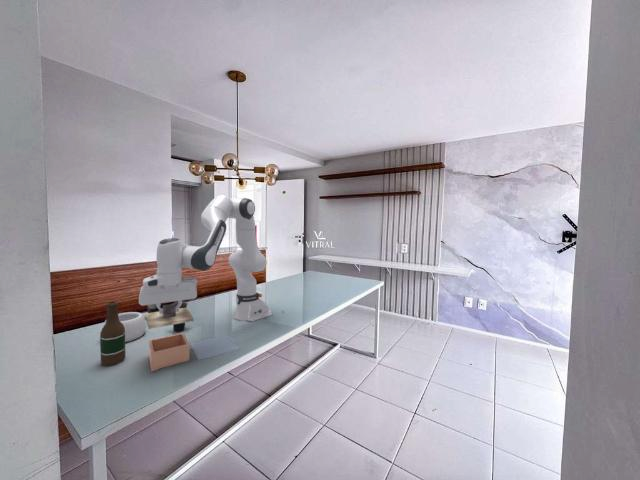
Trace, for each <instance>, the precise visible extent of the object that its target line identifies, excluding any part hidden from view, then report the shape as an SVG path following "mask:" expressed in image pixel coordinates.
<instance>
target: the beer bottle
mask: <svg viewBox="0 0 640 480" xmlns="http://www.w3.org/2000/svg"><path fill="white" fill-rule="evenodd" d="M118 305H119V303H118V301H109V302H107V303H106V305H105V306H106V319H105V321H106V324H105V326H104V327H103V326H102V328H101V331H100V333H99V340H100V341H99V344H100V345H99V347H100V364H101V365H102V366H105V367H110V366H116V365H117V364H120V363H122V362H123V361H124V360H125V358H126V342H125V327H124V325H123V324H122V323H121V322H120V321H119V316H118V314H119V308H118Z"/></svg>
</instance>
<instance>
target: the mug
mask: <svg viewBox="0 0 640 480" xmlns="http://www.w3.org/2000/svg"><path fill="white" fill-rule="evenodd" d="M118 316H119V321H120V322H121V323H122V324H123V325H124V327H125V343H128V342H132V341H134V340H137V339H139V338H141V337H142V336H143V335H144V334H145V333H146V329H147V324H146V318H145V317H144V315H143V313H142V312H137V311H136V312H135V311H128V312H120V313H118ZM105 324H106V320H104V323H103V326H102V328H103V327H104V326H105Z"/></svg>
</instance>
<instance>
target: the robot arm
mask: <svg viewBox="0 0 640 480" xmlns="http://www.w3.org/2000/svg"><path fill="white" fill-rule="evenodd" d="M255 212H256V206H255V203H254V202H253V200H252V199H250V198H247V197H243V198H242V197H233V198H231V197H229V196H227V195H225V194H218V195H216V196H215V197H214V198H213V199H212V200H210V202H209V203H208V204H207V205H206V207H205V208H204V210H203V211H202V212H201V215H200V221H201V224H202V225H203V226H204V227H205V228H206V229H207V230H208V231H210V233H209V235H208V238H207V240H206V242H205V244H203V245H201V246H200V245H199V246H196V245H189V244H186V243H184V242H182V241H181V239H180V238H176V237H174V238H173V237H171V238H163V239H162V240H160V241H159V242H158V244H157V249H156V264H157V269H156V274H154V275H152V276H151V275H150V276H148V277H146V278H145V277H144V278H143V280H142V284H143V285H142V286H141V287H140V291H139V294H138V304H139V305H140V306H142V307H143V306H148V305H151V304H156V307H157V308H158V309H159V314H164V309H163V308H162V309H161V308H160V306H161V303H165V304H166V303H172V302H173V303H175V302H178V305H177V306H176V312H177V311H179V307H180V306H181V304H182V302H183V301H187V300H188V301H189V300H194V299H195V300H196V298H197V297H198V292H197V291H198V289H197V285H198V279H197V278H196V277H194V276H189V277H188V276H187V277H183V269H182V268H187V269H192V270H198V271H200V272H202V271H203V272H205V271H209V270H210V269H211V268H212V267H213V266H214V265H215V263H216V260H217V254H218V251H219V249H220V246H221V244H222V243H223V240H224V238H225V235H226V233H227V224H226V221H227V220H228V219H235V237H236V244H237V245H238V246H239V247H240V249H241V250H242V251H239V250H238V251H234V252H232V253H230V254H229V257H228V260H227V261H228V265H229V267H231V268H232V270H233V272H234V275H235V277H236V288H237V289H236V295H235V296H236V297H235V303H236V307H235V312H234V315H233V318H234V319H235V320H237V321H247V322H255V321H259V320H260V319H264V318H268V317H272V316H273V312H272V311H271V310H270V309H269V306H268V305H269V304H267V303H266V302H265V301H264V300H263V299H262V297H263V294H262V293H259V292H257V279H256V278H255V277H254V276H253V274H252V272H253V273H257V272H258V273H259V272H263V271H264V270H265V269H266V267H267V263H268V262H267V258H266V256H265V255H263V253H262V252H261V250H260V248H259V245H258V242H257V236H256V235H257V234H256V231H257V230H256V220H255V216H254V214H255Z"/></svg>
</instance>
